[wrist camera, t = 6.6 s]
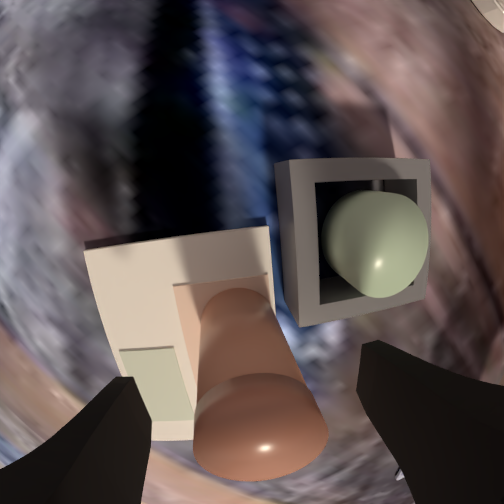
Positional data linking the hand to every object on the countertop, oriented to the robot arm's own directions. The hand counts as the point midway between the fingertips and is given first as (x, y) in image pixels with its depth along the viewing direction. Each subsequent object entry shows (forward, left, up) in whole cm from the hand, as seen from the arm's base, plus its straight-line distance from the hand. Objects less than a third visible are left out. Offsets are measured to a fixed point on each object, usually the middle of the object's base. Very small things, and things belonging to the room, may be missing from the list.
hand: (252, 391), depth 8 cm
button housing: (+4, -5, -5) cm, 8 cm away
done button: (+4, -5, -3) cm, 7 cm away
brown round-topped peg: (0, 0, -5) cm, 5 cm away
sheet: (-2, +2, -5) cm, 6 cm away
